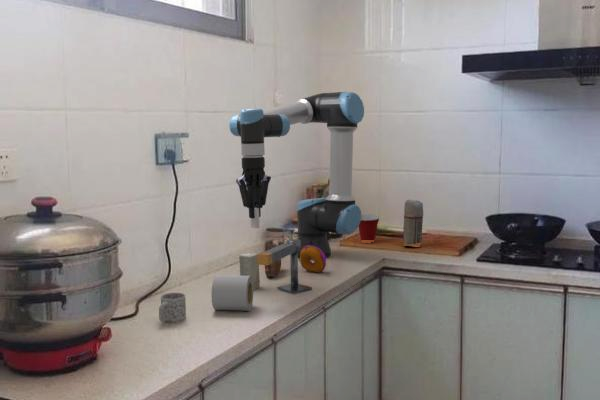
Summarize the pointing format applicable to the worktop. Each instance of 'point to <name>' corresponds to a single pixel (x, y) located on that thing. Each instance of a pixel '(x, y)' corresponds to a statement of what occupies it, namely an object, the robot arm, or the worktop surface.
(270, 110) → the robot arm
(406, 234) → the grey thermos bottle
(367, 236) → the plastic cup
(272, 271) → the tin
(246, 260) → the box
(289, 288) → the post
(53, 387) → the worktop surface
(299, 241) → the bar
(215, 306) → the toilet paper
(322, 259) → the donut
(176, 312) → the mug
